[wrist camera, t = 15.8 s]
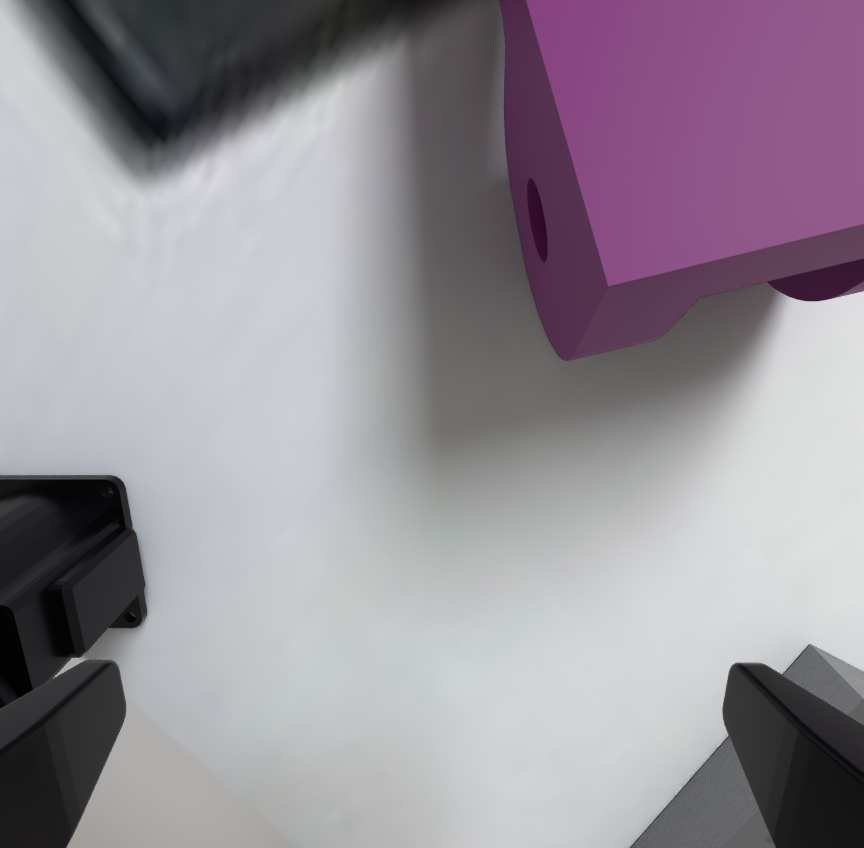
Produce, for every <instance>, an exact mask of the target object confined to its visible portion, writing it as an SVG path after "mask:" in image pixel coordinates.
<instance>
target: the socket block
mask: <svg viewBox="0 0 864 848" xmlns="http://www.w3.org/2000/svg"><path fill="white" fill-rule="evenodd" d="M783 676H785V677H787V678H788V679H790V680H792V681H793V682H795V683H797V684H798V685H800V686H801V687H803V688H805V689H806V690H808V691H810V692H811V693H813V694H815V695H816V696H818V697H820V698H821V699H823V700H824V701H826V702H828V703H829V704H831V705H833V706H834V707H836V708H838V709H839V710H841V711H842V712H844V713H846V714H847V715H849V716H851V717H852V718H854V719H856V720H857V721H859V722H861V723H862V724H864V672H863V671H861V670H859V669H857V668H855V667H853V666H851V665H849V664H847V663H845V662H843V661H842V660H840V659H838V658H836V657H834V656H832V655H830V654H828V653H826V652H824V651H822V650H820V649H818V648H817V647H815V646H813V645H811V644H810V645H809V646H808V647H807V648H806V650H805V651H804V652H803V653H802V654H801V655H800V656H799V658H798V659H797V660H796V661H795V662H794V663H793V664H792V665H791V667H790V668H789V669H788V670H787V671H786V672H785V673H784V675H783ZM631 848H775V846H774V843H773V841H772V839H771V837H770V835H769V832H768V830H767V828H766V825H765V823H764V821H763V818H762V816H761V813H760V811H759V808H758V806H757V804H756V801H755V799H754V796H753V794H752V791H751V789H750V786H749V784H748V781H747V779H746V776H745V774H744V771H743V769H742V767H741V764H740V762H739V759H738V757H737V754H736V752H735V749H734V747H733V744H732V742H731V739H730V737H728V738H727V739H726V740H725V741H724V743H723V744H722V745H721V746H720V747H719V748H718V749H717V751H716V752H715V753H714V754H713V755H712V756H711V757H710V759H709V760H708V761H707V762H706V763H705V764H704V765H703V766H702V768H701V769H700V770H699V771H698V772H697V773H696V774H695V776H694V777H693V778H692V779H691V780H690V781H689V782H688V783H687V785H686V786H685V787H684V788H683V789H682V790H681V791H680V793H679V794H678V795H677V796H676V797H675V798H674V799H673V800H672V802H671V803H670V804H669V805H668V806H667V807H666V808H665V810H664V811H663V812H662V813H661V814H660V815H659V816H658V818H657V819H656V820H655V821H654V822H653V823H652V824H651V825H650V827H649V828H648V829H647V830H646V831H645V832H644V833H643V835H642V836H641V837H640V838H639V839H638V840H637V841H636V842H635V844H634V845H633V846H632V847H631Z"/></svg>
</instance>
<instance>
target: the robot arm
mask: <svg viewBox="0 0 864 848" xmlns="http://www.w3.org/2000/svg"><path fill="white" fill-rule="evenodd" d="M106 486H109V487H111V488H112V490H113V494H112V493H109V492H108V491H107V489H106ZM144 587H145V582H144V576H143V571H142V565H141V559H140V553H139V547H138V542H137V536H136V532H135V531H134V530H133V528H132V523H131V517H130V511H129V505H128V500H127V494H126V488H125V485H124V483H123V482H122V481H121V479H119V478H118V477H116V476H111V475H0V848H66V847H67V845H68V843H69V841H70V840H71V838H72V836H73V834H74V832H75V830H76V828H77V825H78V823H79V821H80V819H81V817H82V815H83V813H84V810H85V808H86V806H87V804H88V801H89V799H90V797H91V795H92V792H93V790H94V788H95V785H96V784H97V781H98V779H99V777H100V774H101V772H102V770H103V767H104V766H105V763H106V761H107V759H108V757H109V754H110V752H111V750H112V747H113V745H114V743H115V741H116V739H117V736H118V734H119V732H120V730H121V727H122V725H123V722H124V719H125V715H126V701H125V696H124V691H123V686H122V681H121V675H120V670H119V667H118V665H117V664H116V662H114V661H112V660H87V661H84V662H82V663H80V664H78V665H76V666H74V667H73V668H71V669H69V670H67V671H66V672H64V673H62V674H60V675H59V676H57V677H55V678H54V679H53V677H54V676H55V675H56V674H57V673H58V672H59V671H60V670H61V669H62V668H63V667H64V665H66V663H67V662H68V661H69V660H70V659H71V658H80V657H81V656H83V655H84V654H85V653H86V652H87V651H88V650H89V648H90V647H91V646H92V645H93V644H94V643H95V642H96V641H97V640H98V638H99V637H100V636H101V635H102V634H103V633H104V632H105V631H106V630H107V629H108V628H134V627H137V626H139V625H140V624H141V623H142V621H143V620H144V619H145V617H146V616H147V608H146V603H145V597H144V591H143V589H144ZM129 612H132V613H133V614H135V616H136V617H135V616H132V615H131V614H130V613H129ZM723 720H724V724H725V727H726V730H727V732H728V735H729V737H730V739H731V742H732V744H733V747H734V749H735V752H736V754H737V757H738V759H739V762H740V764H741V767H742V769H743V771H744V774H745V776H746V779H747V781H748V784H749V786H750V789H751V791H752V794H753V796H754V799H755V801H756V804H757V806H758V808H759V811H760V813H761V816H762V818H763V821H764V823H765V825H766V828H767V830H768V832H769V835H770V837H771V839H772V841H773V843H774V846H775V848H864V724H862V723H861V722H859V721H857V720H856V719H854V718H852V717H851V716H849V715H847V714H846V713H844V712H842V711H841V710H839V709H838V708H836V707H834V706H833V705H831V704H829V703H828V702H826V701H824V700H823V699H821V698H820V697H818V696H816V695H815V694H813V693H811V692H810V691H808V690H806V689H805V688H803V687H801V686H800V685H798V684H797V683H795V682H793V681H792V680H790V679H788V678H787V677H785V676H783V675H782V674H780V673H778V672H777V671H775V670H774V669H772V668H770V667H769V666H767V665H765V664H762V663H735V664H733V665H732V666H731V668H730V670H729V674H728V680H727V685H726V691H725V697H724V702H723Z"/></svg>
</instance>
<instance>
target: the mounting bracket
mask: <svg viewBox="0 0 864 848" xmlns="http://www.w3.org/2000/svg"><path fill="white" fill-rule="evenodd" d="M499 2H500V7H501V12H502V19H503V26H504V36H505V76H504V127H505V143H506V155H507V164H508V173H509V181H510V188H511V194H512V199H513V204H514V210H515V215H516V220H517V225H518V231H519V236H520V241H521V247H522V252H523V257H524V263H525V268H526V272H527V276H528V280H529V284H530V287H531V291H532V294H533V298H534V301H535V304H536V308H537V311H538V314H539V317H540V319H541V322H542V325H543V327H544V330H545V332H546V335H547V337H548V339H549V341H550V343H551V345H552V347H553V349H554V350H555V352H556V353H557V354H558V356H559V357H560V358H561V359H563V360H565V361H569V360H573V359H577V358H582V357H586V356H590V355H594V354H599V353H603V352H607V351H611V350H616V349H620V348H624V347H628V346H633V345H637V344H641V343H645V342H650V341H654V340H656V339H659V338H660V337H662V336H663V335H664V334H665V333H666V332H667V331H668V330H669V329H670V328H671V327H672V326H673V325H674V324H675V323H676V322H677V321H678V320H679V319H680V318H681V317H682V316H683V315H684V314H685V313H686V311H687V310H688V309H689V308H690V307H691V306H692V305H693V304H694V303H695V302H696V301H697V300H698V299H699V298H701V297H705V296H709V295H713V294H717V293H722V292H726V291H730V290H734V289H738V288H742V287H747V286H751V285H755V284H759V283H763V282H768V283H769V284H770V285H771V286H772V287H774V288H775V289H777V290H778V291H780V292H781V293H783V294H785V295H787V296H789V297H792V298H795V299H798V300H803V301H822V300H828V299H832V298H836V297H840V296H845V295H849V294H853V293H857V292H862V291H864V0H499Z"/></svg>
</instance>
